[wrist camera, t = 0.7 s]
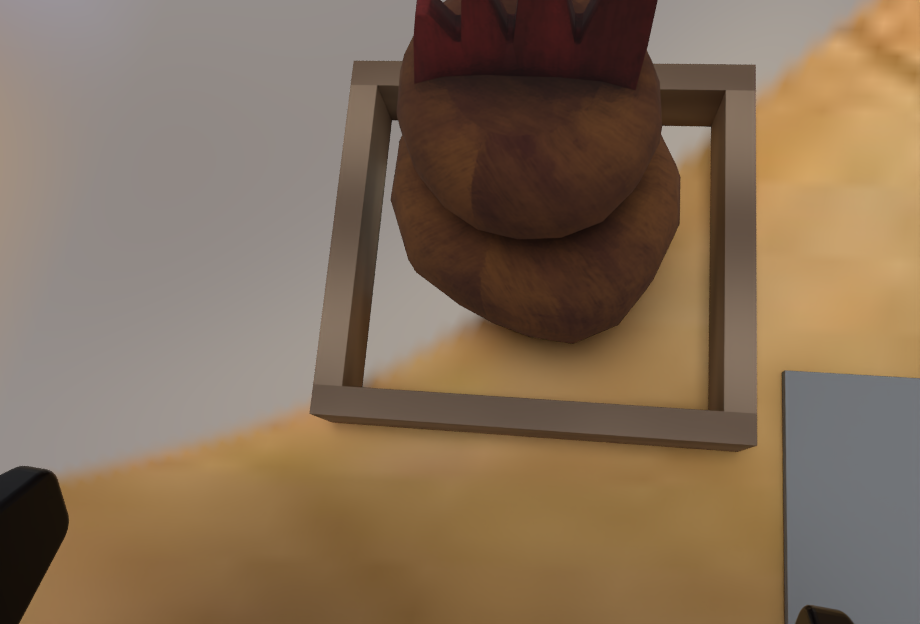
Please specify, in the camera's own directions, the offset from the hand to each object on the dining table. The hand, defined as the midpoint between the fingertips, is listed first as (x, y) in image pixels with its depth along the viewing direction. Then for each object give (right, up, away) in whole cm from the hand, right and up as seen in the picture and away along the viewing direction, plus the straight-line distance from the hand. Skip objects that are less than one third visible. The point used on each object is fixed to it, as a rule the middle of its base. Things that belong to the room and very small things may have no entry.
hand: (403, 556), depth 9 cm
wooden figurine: (+3, +4, +15) cm, 16 cm away
